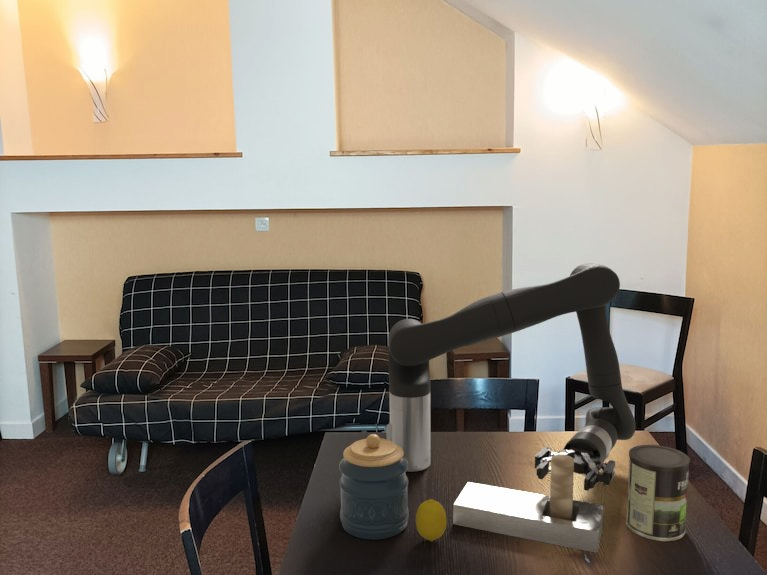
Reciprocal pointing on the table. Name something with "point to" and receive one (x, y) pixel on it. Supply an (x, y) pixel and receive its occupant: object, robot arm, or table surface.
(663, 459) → the coffee can
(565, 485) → the peg
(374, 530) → the canister
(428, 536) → the lemon
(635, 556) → the table surface
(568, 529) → the block
